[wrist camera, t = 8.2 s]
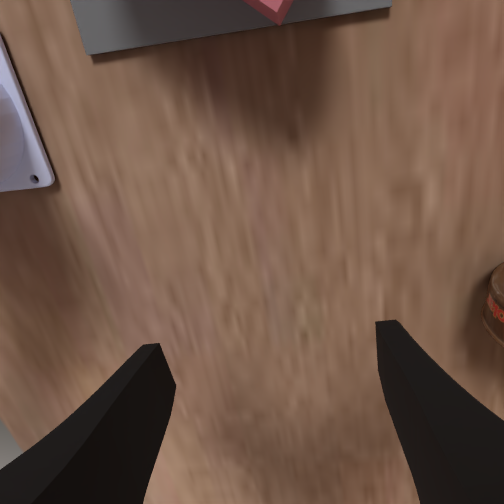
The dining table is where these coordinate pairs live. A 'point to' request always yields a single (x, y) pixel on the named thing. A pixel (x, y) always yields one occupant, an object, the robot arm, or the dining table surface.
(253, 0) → the box
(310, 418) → the dining table surface
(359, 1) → the mat
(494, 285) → the tin
